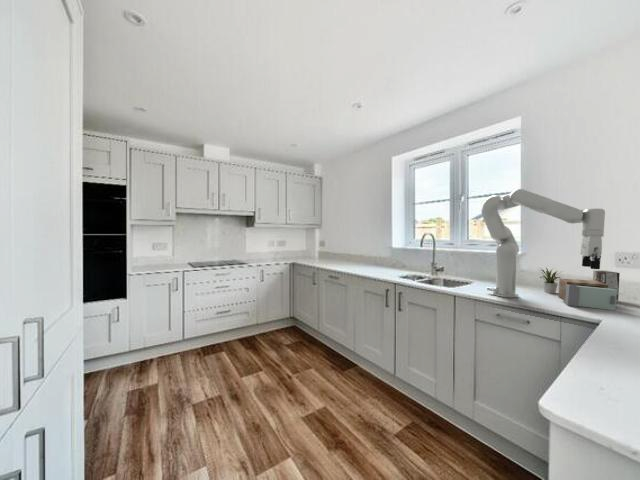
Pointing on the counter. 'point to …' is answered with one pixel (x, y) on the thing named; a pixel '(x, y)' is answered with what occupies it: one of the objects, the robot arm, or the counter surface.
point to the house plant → (549, 281)
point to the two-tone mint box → (591, 297)
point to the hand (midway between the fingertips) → (590, 267)
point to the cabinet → (579, 283)
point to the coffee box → (608, 279)
